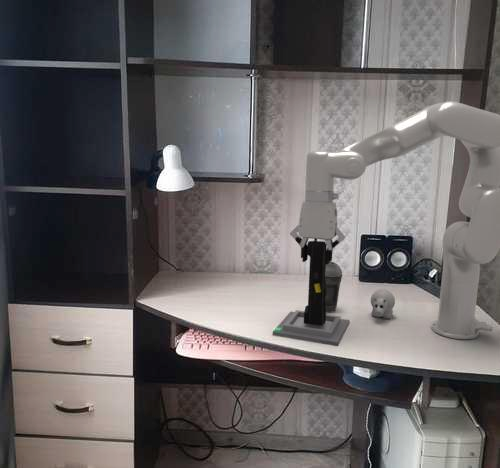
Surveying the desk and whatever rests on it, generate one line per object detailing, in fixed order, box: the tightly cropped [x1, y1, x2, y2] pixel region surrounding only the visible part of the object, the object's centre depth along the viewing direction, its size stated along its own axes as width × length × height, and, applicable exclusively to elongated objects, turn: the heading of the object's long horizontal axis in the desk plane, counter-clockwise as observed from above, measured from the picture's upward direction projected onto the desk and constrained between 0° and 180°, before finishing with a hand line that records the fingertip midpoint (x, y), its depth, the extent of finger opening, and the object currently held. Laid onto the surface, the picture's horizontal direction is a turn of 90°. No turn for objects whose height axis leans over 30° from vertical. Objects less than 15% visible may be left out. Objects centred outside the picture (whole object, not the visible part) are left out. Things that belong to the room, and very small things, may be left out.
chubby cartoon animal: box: [370, 288, 396, 320], centre depth 150 cm, size 7×12×8 cm, turn 154°
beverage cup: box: [325, 261, 343, 313], centre depth 155 cm, size 7×7×20 cm
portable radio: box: [304, 239, 327, 325], centre depth 138 cm, size 8×6×25 cm
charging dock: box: [272, 309, 350, 347], centre depth 140 cm, size 18×18×2 cm
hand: (316, 261), depth 137 cm, fingers closed on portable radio, 5 cm apart
